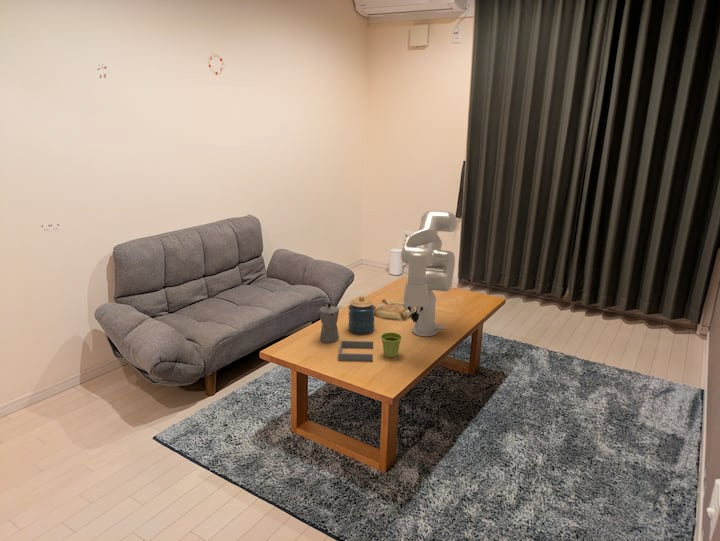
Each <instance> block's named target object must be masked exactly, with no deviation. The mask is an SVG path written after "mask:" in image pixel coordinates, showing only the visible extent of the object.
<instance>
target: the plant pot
mask: <svg viewBox="0 0 720 541" xmlns="http://www.w3.org/2000/svg"><path fill="white" fill-rule="evenodd" d="M380 339H381V341H382V348H383V355H384V356H385V357H387V358H396V357H398V355H399V348H400V344H401V341H402V339H403V335H401V334H400V333H397V332H385V333H382V334H381V335H380Z"/></svg>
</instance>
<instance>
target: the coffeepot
mask: <svg viewBox="0 0 720 541" xmlns="http://www.w3.org/2000/svg"><path fill="white" fill-rule="evenodd" d="M318 310H319V317H320V322H321V324H322V325H321V330H320V336H319V340H320V341H321V342H323V343H327V344H329V343H330V344H332V343H336V342H338V341H339V339H340V335H339V334H340V333H339V329H338V326H337V323H338V319H339V313H340V312H339V311H340V308H339V307H337V306H335V305H334V306H333V305H332V303H330V302H329V303H327V302H325V303H324V304H323V306H321V307H320V309H318Z"/></svg>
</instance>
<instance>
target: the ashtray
mask: <svg viewBox="0 0 720 541" xmlns="http://www.w3.org/2000/svg"><path fill="white" fill-rule="evenodd" d="M403 304H404V301H389V300H388V299H386V298H384V299H382V300H381V302H380V303H378V304H377V305H376V306H375V309H374V313H375V315H374V317H375V316H376V317H377V318H379V319H383V320H388V321H391V320H392V321H399V322H402V321H407V320H408V319H409V317H411V315H412V313H411V312H410V311H409V310H408V309H405V308H403Z"/></svg>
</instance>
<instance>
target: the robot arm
mask: <svg viewBox="0 0 720 541" xmlns="http://www.w3.org/2000/svg"><path fill="white" fill-rule="evenodd" d="M457 225H458V220H457V215H455V214H454V213H453V212H450V211H442V210H428V211H426V212H424V214H423V215H422V216H421V218H420V225H419V228H418V231H417V230H416V231H415V232H414V233H412V234H411V235H409V236H408V237H407V238H406V239H405V240H404V244H403V246H402V250H401V254H400V259H401V261H402V262H403V263H404V264H407V265H408V267H407V268H408V270H407V281H406V282H405V286H404V292H403V303H404V304H403V308H405V309H408V310H409V311H410V312H411V313H412V314H411V315H410V317H411V318H410V319H411V321H412V323H414V325H413V326H412V327H411V333H412V334H414V335H415V336H419V337H433V336H435V335H437V334H438V330H440V331H441V330H445V325H442V324H441V323H440V324H439V323H436V307H437V306H436V304H437V298H436V295H435V293H434V291H439V292H450V290H451V289H452V287H453V279H454V271H455V263H456V256H455V253H454V252H453V251H451V250H445V249H444V250H443V249H442V245H443V242H442V239H441V238H440V236H439V234H438V232H446V233H453V232H455V230H456V229H457V227H458V226H457ZM421 246H423V247H421Z"/></svg>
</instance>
